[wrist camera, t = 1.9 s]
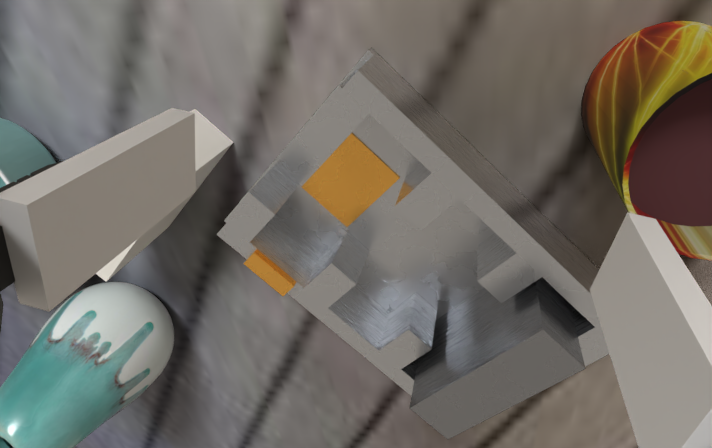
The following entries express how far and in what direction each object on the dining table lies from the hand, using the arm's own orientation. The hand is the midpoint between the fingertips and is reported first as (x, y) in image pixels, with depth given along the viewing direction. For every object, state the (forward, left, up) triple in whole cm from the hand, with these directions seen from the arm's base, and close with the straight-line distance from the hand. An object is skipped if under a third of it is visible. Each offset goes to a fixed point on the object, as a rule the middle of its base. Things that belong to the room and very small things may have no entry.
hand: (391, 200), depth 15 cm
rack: (+9, -11, -22) cm, 27 cm away
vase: (-5, -40, -23) cm, 46 cm away
